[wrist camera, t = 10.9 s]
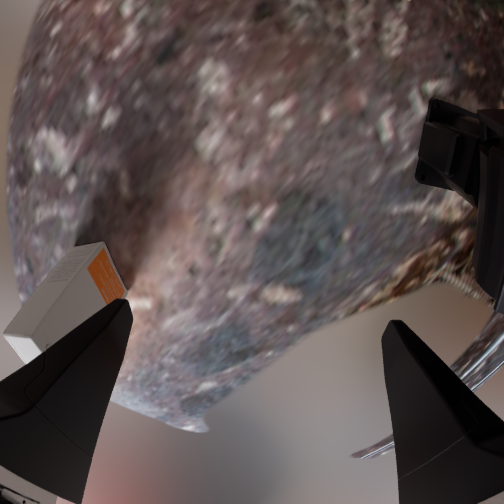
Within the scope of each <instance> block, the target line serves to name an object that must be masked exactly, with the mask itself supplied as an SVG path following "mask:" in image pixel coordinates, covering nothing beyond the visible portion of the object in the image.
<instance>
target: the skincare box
mask: <svg viewBox="0 0 504 504" xmlns="http://www.w3.org/2000/svg"><path fill="white" fill-rule="evenodd" d="M127 294H128V291H127V289H126V288H125V286H124V284H123V282H122V280H121V278H120V276H119V274H118V272H117V270H116V267H115V265H114V263H113V261H112V258H111V256H110V254H109V251H108V249H107V247H106V244H105V242H104V241H102V242H97V243H92V244H87V245H82V246H76V247H73V248H72V249H71V250H70V251H69V252H68V253H67V254H66V255H65V256H64V258H63V259H62V260H61V261H60V262H59V263H58V264H57V265H56V266H55V268H54V269H53V270H52V271H51V272H50V273H49V275H48V276H47V277H46V278H45V279H44V281H43V282H42V283H41V284H40V285H39V287H38V288H37V289H36V290H35V291H34V293H33V294H32V295H31V296H30V298H29V299H28V300H27V301H26V303H25V304H24V305H23V307H22V308H21V309H20V311H19V312H18V313H17V314H16V316H15V317H14V319H13V320H12V321H11V323H10V324H9V325H8V326H7V328H6V329H5V330H4V332H3V336H4V337H5V338H6V339H7V341H8V342H9V343H10V344H11V346H12V347H13V348H14V350H15V351H16V352H17V354H18V355H19V357H20V358H21V359H22V360H23V362H25V364H28V363H29V362H30V361H32V360H33V359H34V358H36V357H37V356H38V355H40V354H41V353H42V352H44V351H45V352H46V349H48V348H49V347H50V346H52V345H53V344H54V343H56V342H57V341H58V340H60V339H61V338H62V337H64V336H65V335H66V334H68V333H69V332H70V331H72V330H73V329H74V328H76V327H77V326H78V325H80V324H81V323H82V322H84V321H85V320H87V319H88V318H89V317H91V316H92V315H93V314H95V313H96V312H98V311H99V310H100V309H102V308H103V307H105V306H106V305H107V304H109V303H110V302H112V301H113V300H114V299H116V298H121V299H125V297H126V296H127Z"/></svg>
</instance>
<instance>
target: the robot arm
mask: <svg viewBox="0 0 504 504" xmlns="http://www.w3.org/2000/svg"><path fill="white" fill-rule="evenodd" d="M435 103H437V108H435V107H434V104H435ZM418 156H419V160H418V164H417V169H416V173H415V178H416V180H417V181H418V182H419V183H421V184H426V185H430V186H435V187H440V188H444V189H448V190H453V191H456V192H457V193H458V194H459V195H460V196H462V197H463V198H464V199H465V200H466V201H468V202H469V203H470V204H471V205H472V206H474V207H475V208H476V209H477V210H478V216H477V226H476V235H475V243H474V250H473V259H472V263H473V266H474V269H475V273H476V275H477V278H476V281H477V283H478V284H479V285H480V286H481V288H482V289H483V290H484V291H485V292H486V293H487V294H489V295H490V296H491V297H492V298H493V299H495V300H496V302H495V305H494V310H495V311H496V312H499V313H503V314H504V109H484V110H477V114H474V113H472V112H470V111H467V110H465V109H462V108H460V107H457V106H455V105H452V104H450V103H447V102H444V101H441V100H439V99H434V98H433V99H431V100H430V101H429V105H428V112H427V118H426V123H424V126H423V132H422V137H421V142H420V147H419V152H418ZM422 174H423V178H421V179H420V176H421V175H422ZM132 323H133V315H132V312H131V308H130V305H129V301H128V300H126V299H121V298H116V299H114V300H113V301H112V302H110V303H109V304H107V305H106V306H105V307H103V308H102V309H100V310H99V311H98V312H96V313H95V314H93V315H92V316H91V317H89V318H88V319H87V320H85V321H84V322H82V323H81V324H80V325H78V326H77V327H76V328H74V329H73V330H72V331H70V332H69V333H68V334H66V335H65V336H64V337H62V338H61V339H60V340H58V341H57V342H56V343H54V344H53V345H52V346H50V347H49V348H48V349H46V352H45V351H44V352H42V353H41V354H40V355H38V356H37V357H36V358H34V359H33V360H32V361H30V362H29V363H28V364H26V365H25V366H23V367H22V368H20V369H19V370H17V371H16V372H14V373H12V374H11V375H9V376H8V377H6V378H5V379H3V380H2V381H0V504H55V503H56V500H57V496H59V497H61V498H63V499H66V500H68V501H71V502H73V503H75V504H81V503H82V498H83V495H84V490H85V486H86V482H87V477H88V473H89V469H90V466H91V462H92V457H93V454H94V449H95V446H96V443H97V439H98V436H99V432H100V428H101V426H102V422H103V419H104V416H105V412H106V409H107V406H108V403H109V400H110V397H111V394H112V391H113V388H114V385H115V382H116V379H117V376H118V373H119V371H120V368H121V365H122V362H123V359H124V355H125V351H126V347H127V343H128V339H129V335H130V331H131V327H132ZM381 342H382V353H383V364H384V376H385V383H386V389H387V395H388V400H389V407H390V413H391V421H392V428H393V436H394V444H395V453H396V463H397V474H398V490H399V504H504V421H503V420H501V418H499V417H498V416H497V415H496V414H495V413H494V412H493V411H492V410H491V409H490V408H489V407H487V406H486V405H485V404H484V403H483V402H482V401H481V400H480V399H479V398H478V397H477V396H476V395H475V394H474V393H473V392H472V391H471V390H470V389H469V388H468V387H467V386H466V385H465V384H464V383H463V382H462V380H461V379H460V378H459V377H458V376H457V375H456V374H455V373H454V372H453V371H452V370H451V369H450V368H449V367H448V366H447V365H446V364H445V363H444V362H443V361H442V360H441V359H440V358H439V357H438V356H437V355H436V354H435V353H434V352H433V351H432V350H431V349H430V348H429V347H428V346H427V345H426V344H425V343H424V342H423V341H422V340H421V339H420V338H419V337H418V336H417V335H416V334H415V333H414V332H413V331H412V330H411V329H410V328H409V327H408V326H407V325H406V324H405V323H404V322H403V321H402V320H391V321H390V322H389V323H388V325H387V327H386V329H385V331H384V333H383V336H382V340H381Z"/></svg>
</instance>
